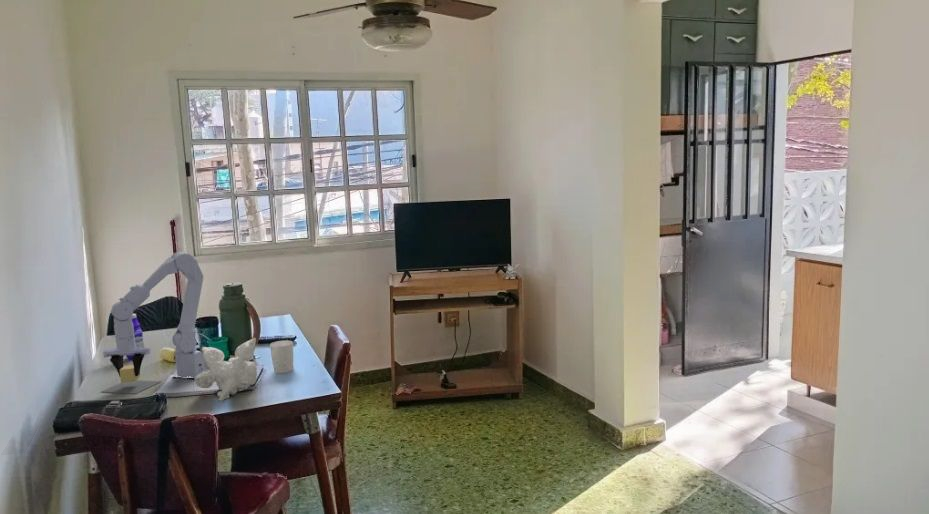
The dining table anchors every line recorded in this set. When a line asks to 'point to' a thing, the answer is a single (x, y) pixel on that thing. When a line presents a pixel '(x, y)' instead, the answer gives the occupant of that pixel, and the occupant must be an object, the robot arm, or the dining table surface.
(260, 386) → the dining table surface
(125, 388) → the placemat
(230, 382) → the white lumpy sculpture
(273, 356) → the white cup
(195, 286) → the robot arm
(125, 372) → the block
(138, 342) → the bottle
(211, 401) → the dining table surface
